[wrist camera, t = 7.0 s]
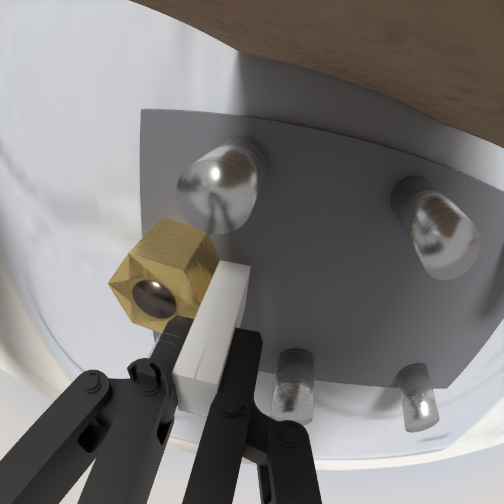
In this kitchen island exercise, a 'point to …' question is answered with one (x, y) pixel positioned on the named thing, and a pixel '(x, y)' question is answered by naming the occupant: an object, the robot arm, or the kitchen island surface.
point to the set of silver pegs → (407, 214)
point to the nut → (165, 274)
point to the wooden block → (376, 48)
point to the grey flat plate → (337, 249)
